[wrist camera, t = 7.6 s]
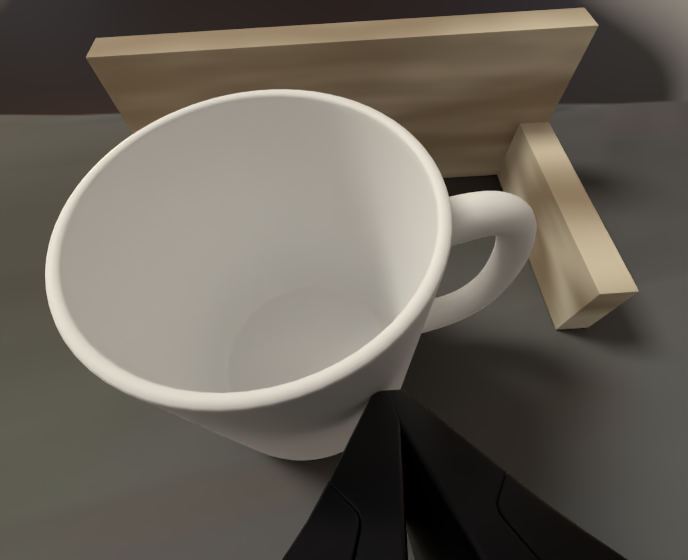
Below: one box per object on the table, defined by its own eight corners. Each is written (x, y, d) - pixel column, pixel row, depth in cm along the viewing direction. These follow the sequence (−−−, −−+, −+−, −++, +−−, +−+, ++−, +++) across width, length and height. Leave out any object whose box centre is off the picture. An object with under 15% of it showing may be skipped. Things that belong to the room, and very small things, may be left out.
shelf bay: (588, 327, 17) (750, 213, 10) (132, 358, 17) (-25, 263, 10) (514, 155, 23) (584, 7, 16) (176, 177, 22) (96, 38, 16)
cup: (215, 298, 18) (80, 115, 9) (445, 253, 19) (518, 47, 10) (220, 485, 14) (-14, 466, 5) (516, 416, 15) (739, 302, 6)
